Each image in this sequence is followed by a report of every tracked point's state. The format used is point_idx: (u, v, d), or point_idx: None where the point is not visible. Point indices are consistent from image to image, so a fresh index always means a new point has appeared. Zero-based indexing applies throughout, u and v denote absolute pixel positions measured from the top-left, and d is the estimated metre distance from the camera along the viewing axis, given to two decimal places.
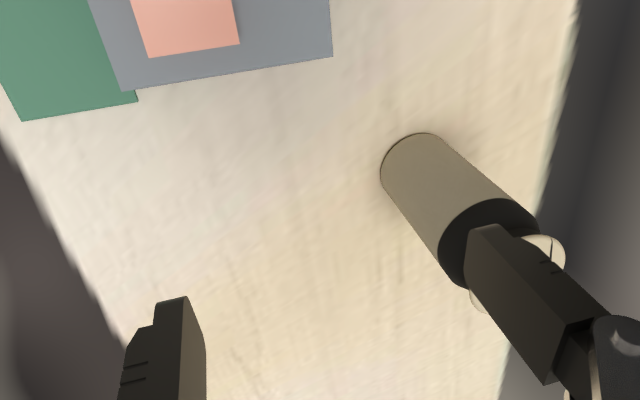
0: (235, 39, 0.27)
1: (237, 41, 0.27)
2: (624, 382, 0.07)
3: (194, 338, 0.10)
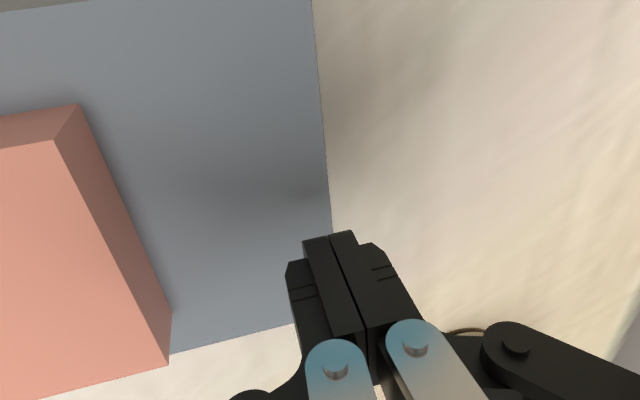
0: (159, 361, 0.14)
1: (163, 363, 0.15)
2: (433, 391, 0.07)
3: None
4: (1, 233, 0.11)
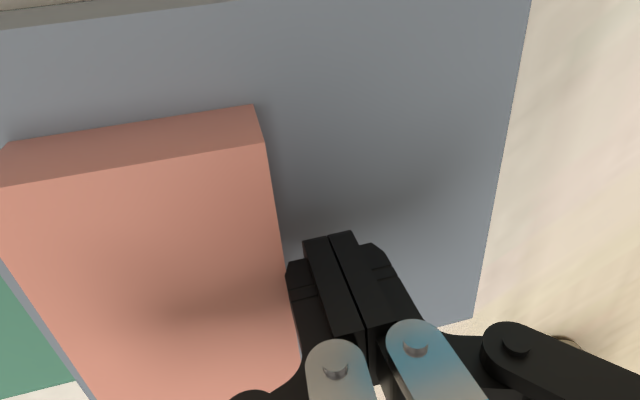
0: None
1: None
2: (433, 391, 0.07)
3: None
4: (187, 242, 0.10)
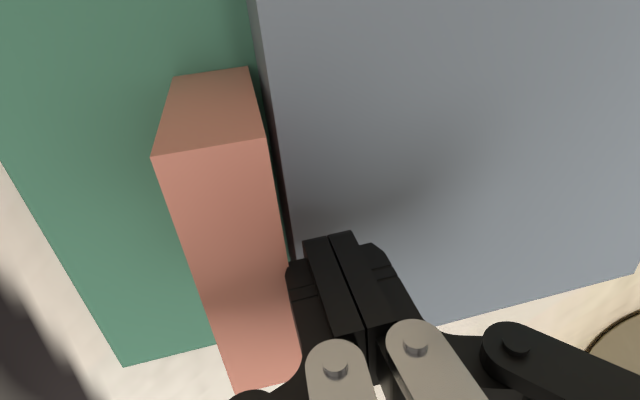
0: None
1: None
2: (433, 391, 0.07)
3: None
4: None
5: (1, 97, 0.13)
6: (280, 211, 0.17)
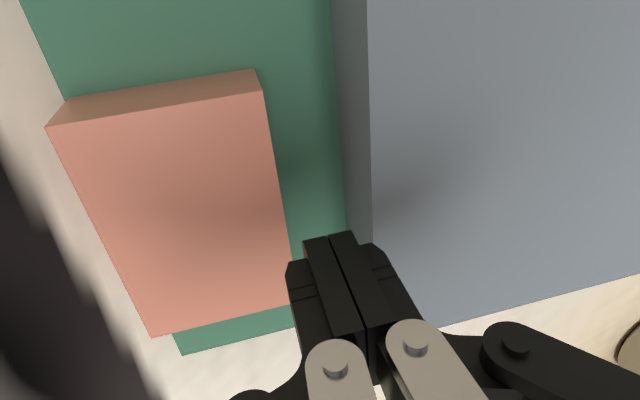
0: None
1: None
2: (433, 391, 0.07)
3: None
4: None
5: (94, 88, 0.13)
6: (343, 200, 0.18)
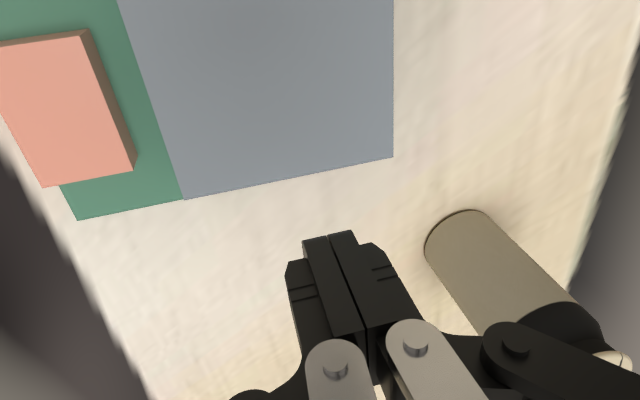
0: None
1: None
2: (433, 391, 0.07)
3: None
4: None
5: None
6: None
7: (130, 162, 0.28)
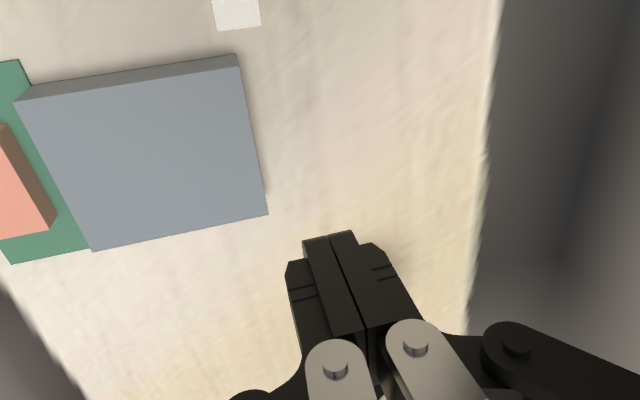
0: None
1: None
2: (433, 391, 0.07)
3: None
4: None
5: None
6: None
7: (47, 223, 0.36)
